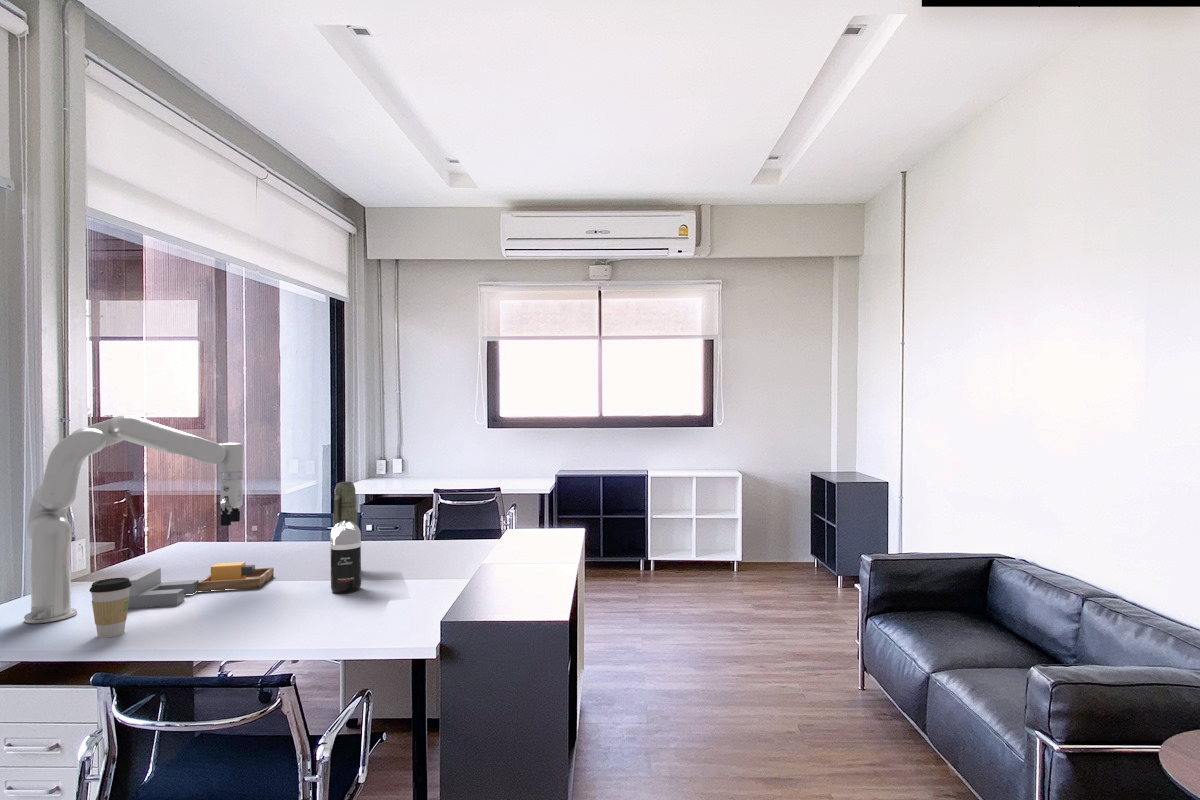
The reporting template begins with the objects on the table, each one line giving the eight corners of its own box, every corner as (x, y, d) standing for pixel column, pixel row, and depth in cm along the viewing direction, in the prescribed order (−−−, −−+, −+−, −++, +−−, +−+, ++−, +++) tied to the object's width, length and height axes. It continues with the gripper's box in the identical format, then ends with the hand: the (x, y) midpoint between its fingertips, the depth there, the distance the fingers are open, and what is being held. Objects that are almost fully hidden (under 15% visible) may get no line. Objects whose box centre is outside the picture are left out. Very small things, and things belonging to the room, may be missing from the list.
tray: (259, 588, 240) (259, 578, 240) (198, 592, 236) (197, 582, 236) (273, 576, 258) (273, 567, 258) (216, 580, 254) (216, 570, 254)
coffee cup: (140, 628, 197) (139, 576, 197) (117, 639, 187) (116, 585, 187) (105, 629, 197) (105, 577, 197) (80, 640, 187) (80, 586, 187)
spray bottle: (330, 588, 239) (329, 517, 239) (361, 585, 242) (360, 515, 243) (330, 595, 229) (329, 521, 230) (362, 592, 233) (361, 519, 233)
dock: (177, 605, 221) (177, 577, 221) (122, 608, 217) (122, 580, 218) (198, 591, 238) (198, 565, 238) (148, 594, 235) (148, 568, 235)
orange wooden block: (251, 582, 246) (251, 564, 246) (210, 584, 243) (210, 566, 243) (255, 578, 251) (255, 561, 251) (216, 581, 248) (216, 563, 248)
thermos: (327, 575, 259) (326, 483, 259) (342, 568, 271) (341, 480, 271) (348, 575, 258) (347, 483, 258) (363, 568, 269) (362, 480, 270)
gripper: (234, 478, 240) (233, 526, 239) (249, 474, 257) (248, 519, 256) (211, 478, 238) (210, 527, 238) (228, 475, 255) (227, 520, 255)
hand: (230, 523), depth 247 cm, fingers open, 9 cm apart
